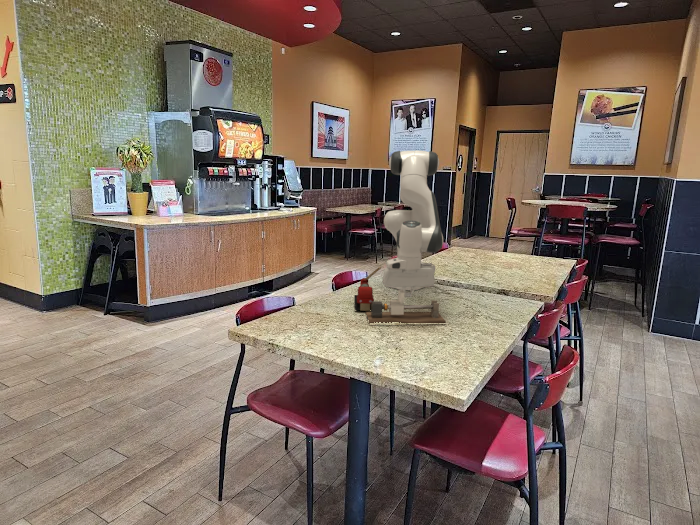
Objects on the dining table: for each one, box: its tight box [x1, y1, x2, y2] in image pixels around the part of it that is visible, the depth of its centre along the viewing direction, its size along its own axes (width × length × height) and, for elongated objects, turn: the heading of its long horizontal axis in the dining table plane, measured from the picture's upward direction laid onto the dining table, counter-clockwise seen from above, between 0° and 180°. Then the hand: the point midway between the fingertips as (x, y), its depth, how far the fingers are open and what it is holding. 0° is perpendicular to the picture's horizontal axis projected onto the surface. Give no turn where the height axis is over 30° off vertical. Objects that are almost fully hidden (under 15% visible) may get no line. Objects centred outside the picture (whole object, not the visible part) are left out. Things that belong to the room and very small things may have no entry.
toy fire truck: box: [353, 266, 382, 312], centre depth 198 cm, size 11×16×18 cm
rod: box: [370, 300, 433, 318], centre depth 184 cm, size 4×26×6 cm, turn 95°
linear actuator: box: [365, 300, 447, 324], centre depth 184 cm, size 12×30×8 cm, turn 95°
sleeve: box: [388, 289, 405, 315], centre depth 183 cm, size 4×5×9 cm
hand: (407, 297), depth 182 cm, fingers closed
